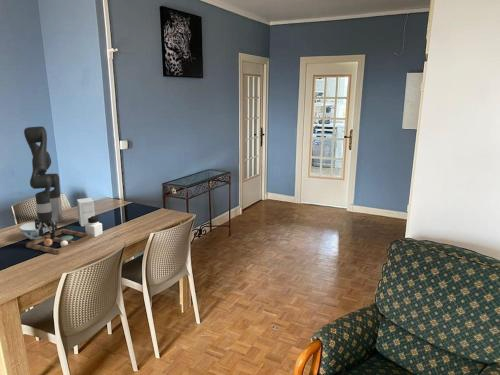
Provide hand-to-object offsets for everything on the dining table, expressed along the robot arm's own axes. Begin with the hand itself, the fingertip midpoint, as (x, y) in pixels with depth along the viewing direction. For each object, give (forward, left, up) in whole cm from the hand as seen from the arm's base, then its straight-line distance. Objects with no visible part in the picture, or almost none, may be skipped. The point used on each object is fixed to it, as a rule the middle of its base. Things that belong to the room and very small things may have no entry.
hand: (47, 237), depth 217 cm
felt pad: (0, +13, -6) cm, 14 cm away
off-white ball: (+9, +3, -6) cm, 11 cm away
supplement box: (-8, +39, -6) cm, 40 cm away
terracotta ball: (0, 0, -6) cm, 6 cm away
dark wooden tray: (+2, +7, -6) cm, 9 cm away
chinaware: (-18, +7, -6) cm, 20 cm away
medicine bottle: (+11, +25, -6) cm, 28 cm away
